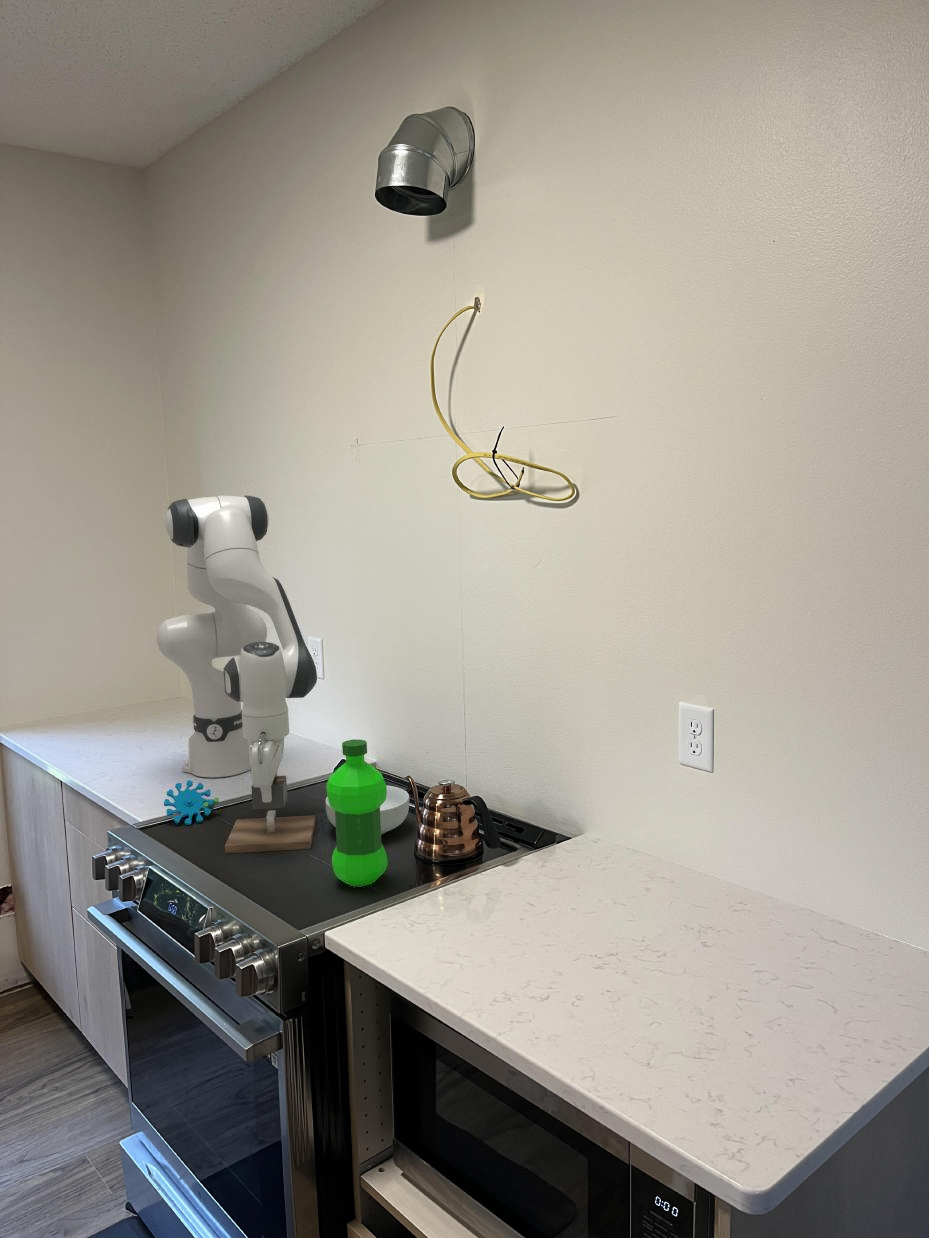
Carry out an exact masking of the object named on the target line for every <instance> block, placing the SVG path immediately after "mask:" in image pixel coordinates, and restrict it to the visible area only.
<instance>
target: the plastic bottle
mask: <svg viewBox="0 0 929 1238" xmlns="http://www.w3.org/2000/svg"><path fill="white" fill-rule="evenodd" d="M341 744H342V745H341V748H342V749H341V750H342V755H343V756H345V762H344V763H343V764H342V765H340V766H339V767H338V768H337V769H336V770H335V771H334V772H333V773H332V774H331V775H330V776H329V777H328V780H327V781H326V785H325V787H326V788H325V789H326V797H327V796H328V801H329V804H330V806H331V807H332V808H333V809H334V810H335V822H336V827H335V836H336V838H335V839H336V845H335V848H334V849H333V853H332V855H331V864H332V870H333V873H334V874H335V877H336V878H338V879H339V880H340V881H341V882H343V883H345V884H349V885H351V886H363V885H369V884H372V883H373V882H374V883H376V881H377V880H378V879H379V878H380V877H381V876H382V875H383V874H384V873H385V871H386V870H387V867H388V856H387V853H386V849H385V848H384V845H383V844H382V835H381V822H380V806H381V805H382V804H383V803H384V802H385V800H386V795H387V787H386V785H387V784H386V781H385V779H384V776H383V774H382V772H380V771H379V770H378V769H377V768H375V767H374V766H373V765H372V764H370V763H368V762H367V761H365V755H366V754H368V742H367V741H366V740H364V739H348V740H345V741H343V742H341ZM374 883H373V884H374ZM373 884H372V885H373ZM351 886H350V887H351Z"/></svg>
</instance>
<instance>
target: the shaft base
mask: <svg viewBox="0 0 929 1238" xmlns="http://www.w3.org/2000/svg"><path fill="white" fill-rule="evenodd" d="M316 820H317V819H316V815H299V816H298V815H297V816H296V815H295V816H279V817H277V816H276V830H275V833H267V817H259V818H243V819H242V818H241V819H239V818H238V819H236V820H235V822H234V825H233V827H232V830H231V831H230V834H229V836H228V838H227V840H226V843H225V844H224V853H225V854H241V853H258V852H259V853H260V852H276V851H280V852H281V851H293V850H294V851H295V850H296V851H297V850H310V849H311V847H312V842H313V837H314V833H315V830H316V829H315V828H316V823H317V821H316Z"/></svg>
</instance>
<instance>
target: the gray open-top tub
mask: <svg viewBox="0 0 929 1238" xmlns="http://www.w3.org/2000/svg"><path fill="white" fill-rule="evenodd" d="M287 787H288V784H287V775H277V776H275V778H274V780H273V783H272V785H271V789H272V801H271V802H263V801H262V793H261V790H260V787H253V784H252V783H251V800H252V801H251V804H252V810H264V809H265V810H266V809H282V808H283V809H284V808H285V806H286V803H287V800H288V788H287Z"/></svg>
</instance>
